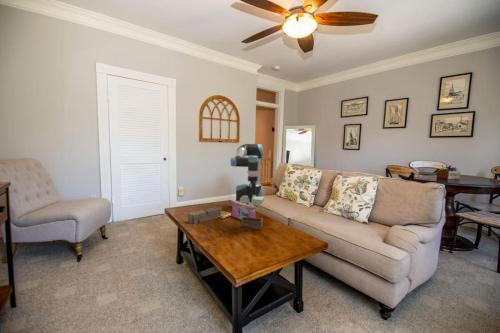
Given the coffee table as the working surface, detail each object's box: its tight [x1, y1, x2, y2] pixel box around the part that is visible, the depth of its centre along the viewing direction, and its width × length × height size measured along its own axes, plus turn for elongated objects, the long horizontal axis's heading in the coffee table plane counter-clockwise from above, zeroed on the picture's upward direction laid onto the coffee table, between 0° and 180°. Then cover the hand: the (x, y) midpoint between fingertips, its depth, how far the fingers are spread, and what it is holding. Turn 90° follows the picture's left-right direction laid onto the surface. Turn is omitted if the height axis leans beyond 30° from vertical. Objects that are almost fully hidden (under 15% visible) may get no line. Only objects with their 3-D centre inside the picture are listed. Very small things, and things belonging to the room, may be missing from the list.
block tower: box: [187, 206, 223, 225], centre depth 190 cm, size 8×8×29 cm
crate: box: [240, 217, 264, 230], centre depth 174 cm, size 7×16×6 cm, turn 77°
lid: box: [240, 196, 265, 205], centre depth 173 cm, size 10×17×4 cm, turn 77°
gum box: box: [231, 200, 257, 220], centre depth 194 cm, size 24×8×14 cm, turn 43°
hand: (252, 204), depth 173 cm, fingers closed on lid, 10 cm apart
